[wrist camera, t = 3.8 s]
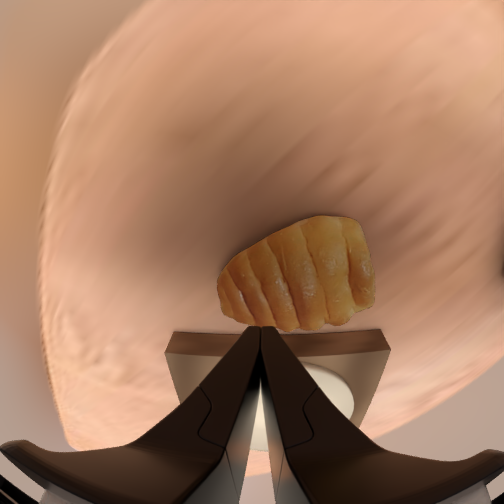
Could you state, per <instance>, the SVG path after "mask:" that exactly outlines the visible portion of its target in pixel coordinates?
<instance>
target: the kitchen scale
mask: <svg viewBox="0 0 504 504" xmlns="http://www.w3.org/2000/svg"><path fill="white" fill-rule="evenodd" d="M240 336H241V335H228V334H202V333H184V332H174V333H173V335H172V337H171V339H170V342H169V344H168V346H167V348H166V351H165V356H166V360H167V363H168V366H169V370H170V373H171V376H172V380H173V383H174V386H175V389H176V392H177V395H178V398H179V401H180V404H181V403H182V402H183V401H184V400H185V399H186V398H187V397H188V396H189V395H190V394H191V392H192V391H193V390H194V389H195V388H196V387H197V386H199V384H200V382H201V381H202V380H203V379H204V378H205V377H206V376H207V374H208V373H209V372H210V371H211V370H212V369H213V368H214V366H215V365H216V364H217V363H218V362H219V361H220V359H221V358H222V357H223V356H224V355H225V354H226V352H227V351H228V350H229V349H230V348H231V346H232V345H233V344H234V343H235V342H236V340H237V339H238V338H239V337H240ZM281 337H282V338H283V339H284V341H285V342H286V343H287V345H288V346H289V347H290V349H291V350H292V351H293V353H294V354H295V355H296V357H297V358H298V359H299V361H300V362H301V363H302V365H303V366H304V367H305V369H306V370H307V371H308V372H309V374H310V375H311V376H312V378H313V379H314V380H315V382H316V383H317V384H318V386H319V387H320V388H321V389H322V391H323V392H324V393H325V395H326V396H327V397H328V398H329V399H330V400H331V402H332V403H333V404H334V405H335V406H336V407H337V408H338V409H339V410H340V411H341V412H342V413H343V414H344V415H345V416H346V417H347V418H348V419H349V420H350V421H351V422H352V423H353V424H354V425H355V426H356V427H358V428H359V427H360V425H361V423H362V420H363V418H364V416H365V414H366V412H367V410H368V407H369V405H370V403H371V400H372V398H373V396H374V393H375V391H376V389H377V386H378V384H379V381H380V379H381V376H382V373H383V371H384V368H385V365H386V362H387V360H388V357H389V354H390V351H391V349H390V347H389V345H388V343H387V341H386V339H385V337H384V335H383V333H382V331H381V330H380V329H379V330H368V331H356V332H342V333H324V334H298V335H281ZM250 450H256V451H266V452H269V450H268V443H267V435H266V427H265V419H264V412H263V404H262V396H261V384H260V394H259V400H258V406H257V412H256V417H255V423H254V428H253V434H252V439H251V445H250Z"/></svg>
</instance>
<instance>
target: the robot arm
mask: <svg viewBox="0 0 504 504" xmlns="http://www.w3.org/2000/svg"><path fill="white" fill-rule="evenodd" d="M260 384H261V396H262V404H263V412H264V419H265V427H266V435H267V443H268V450H269V458H270V466H271V473H272V481H273V488H274V495H275V501H276V504H504V493H502V494H501V495H499V496H498V497H497V498H495V499H494V500H492V501H491V499H490V496H489V493H488V490H487V488H486V485H487V484H488V483H490V482H491V481H492V480H493V479H495V478H496V477H497V476H498V475H500V474H501V473H502V472H503V471H504V452H502V451H498V450H492V449H487V450H484V451H482V452H480V453H478V454H476V455H475V456H473V457H471V458H468V459H465V460H460V461H439V460H432V459H426V458H420V457H415V456H410V455H405V454H400V453H395V452H391V451H388V450H386V449H384V448H382V447H380V446H378V445H377V444H376V443H374V442H373V441H372V440H371V439H370V438H368V437H367V436H366V435H365V434H364V433H363V432H362V431H361V430H360V429H359V428H358V427H356V426H355V425H354V424H353V423H352V422H351V421H350V420H349V419H348V418H347V417H346V416H345V415H344V414H343V413H342V412H341V411H340V410H339V409H338V408H337V407H336V406H335V405H334V404H333V403H332V402H331V400H330V399H329V398H328V397H327V396H326V395H325V393H324V392H323V391H322V389H321V388H320V387H319V386H318V384H317V383H316V382H315V380H314V379H313V378H312V376H311V375H310V374H309V372H308V371H307V370H306V369H305V367H304V366H303V365H302V363H301V362H300V361H299V359H298V358H297V357H296V355H295V354H294V353H293V351H292V350H291V349H290V347H289V346H288V345H287V343H286V342H285V341H284V339H283V338H282V337H281V335H280V334H279V333H278V331H277V330H276V328H275V327H274V326H262V327H260V326H248V327H247V328H246V330H245V331H244V332H243V333H242V334H241V336H240V337H239V338H238V339H237V340H236V342H235V343H234V344H233V345H232V346H231V348H230V349H229V350H228V351H227V352H226V354H225V355H224V356H223V357H222V358H221V359H220V361H219V362H218V363H217V364H216V365H215V366H214V368H213V369H212V370H211V371H210V372H209V373H208V374H207V376H206V377H205V378H204V379H203V380H202V381H201V382H200V384H199V386H197V387H196V388H195V389H194V390H193V391H192V392H191V394H190V395H189V396H188V397H187V398H186V399H185V400H184V401H183V402H182V403H181V404H180V405H179V406H178V407H176V408H175V409H174V410H173V411H172V412H171V413H170V414H168V415H167V416H166V417H165V418H164V419H162V420H161V421H160V422H159V423H157V424H156V425H155V426H154V427H152V428H151V429H150V430H149V431H147V432H146V433H145V434H144V435H142V436H141V437H140V438H138V439H137V440H135V441H133V442H131V443H129V444H127V445H123V446H119V447H113V448H106V449H98V450H89V451H78V452H52V451H48V450H45V449H42V448H40V447H38V446H36V445H35V444H33V443H31V442H29V441H27V440H15V441H9V442H7V443H4V444H2V445H1V446H0V451H1V452H2V454H3V455H4V456H5V457H6V458H7V459H8V460H10V461H11V462H12V463H13V464H14V465H15V466H16V467H18V468H19V469H20V470H21V471H22V472H23V473H25V474H26V475H27V476H28V477H30V478H31V479H32V480H33V481H35V482H36V483H37V484H39V485H40V486H41V487H43V488H44V489H45V491H44V493H43V495H42V498H41V500H40V502H39V503H38V502H37V501H36V500H34V499H33V498H31V497H29V496H28V495H27V494H25V493H24V492H23V491H21V490H20V489H18V488H17V487H16V486H14V485H13V484H12V483H11V482H9V481H8V480H6V479H5V478H4V477H3V476H2V475H0V504H239V500H240V495H241V490H242V485H243V481H244V476H245V471H246V466H247V460H248V455H249V450H250V445H251V439H252V434H253V428H254V423H255V417H256V412H257V406H258V400H259V394H260Z"/></svg>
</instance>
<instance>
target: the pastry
mask: <svg viewBox="0 0 504 504" xmlns="http://www.w3.org/2000/svg"><path fill="white" fill-rule="evenodd" d="M217 283H218V285H217V291H218V295H219V298H220V302H221V309H222V312H223V314H224V315H226V316H228V317H230V318H233V319H235V320H236V321H237V322H240V323H245V324H249V325H254V326H260V327H262V326H274V327H275V328H279V329H281V330H283V331H285V332H290V331H292V330H294V329H297V328H300V329H303V330H318V329H320V328H321V327H322V326H323V325H324V324H325V323H329V324H331V325H334V326H340V325H342V324H345V323H347V322H348V321H349V319H350V318H351V317H352V315H353V314H354V313H355V312H359V311H362V310H364V309H366V308H370V307H371V306H372V305H373V303H374V300H375V296H374V295H375V274H374V269H373V266H372V264H371V261H370V252H369V249H368V246H367V243H366V239H365V236H364V233H363V231H362V227H361V225H360V224H359V223H358V222H357V221H356V220H354V219H351V218H347V217H333V216H324V215H319V216H314V217H311V218H307V219H304V220H300V221H298V222H296V223H294V224H293V225H291V226H289V227H286V228H283V229H281V230H279V231H277V232H275V233H273V234H271V235H269V236H268V237H266V238H264V239H262V240H260V241H259V242H257V243H256V244H254V245H252V246H251V247H249V248H247V249H245V250H244V251H242V252H240V253H239V254H237V255H236V256H234V257H233V258H232V259H231V260H230V261H229V263H228V264H227V265H226V267H225V268H224V269H223V271H222V272H221V274H220V276H219V278H218V280H217Z"/></svg>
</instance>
